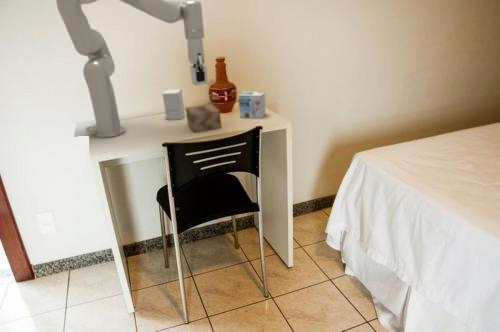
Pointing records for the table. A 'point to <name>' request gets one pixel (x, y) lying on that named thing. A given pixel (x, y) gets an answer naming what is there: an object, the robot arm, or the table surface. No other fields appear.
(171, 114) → the supplement box
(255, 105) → the light bulb box
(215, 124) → the walnut block
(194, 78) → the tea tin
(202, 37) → the robot arm
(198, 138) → the table surface
